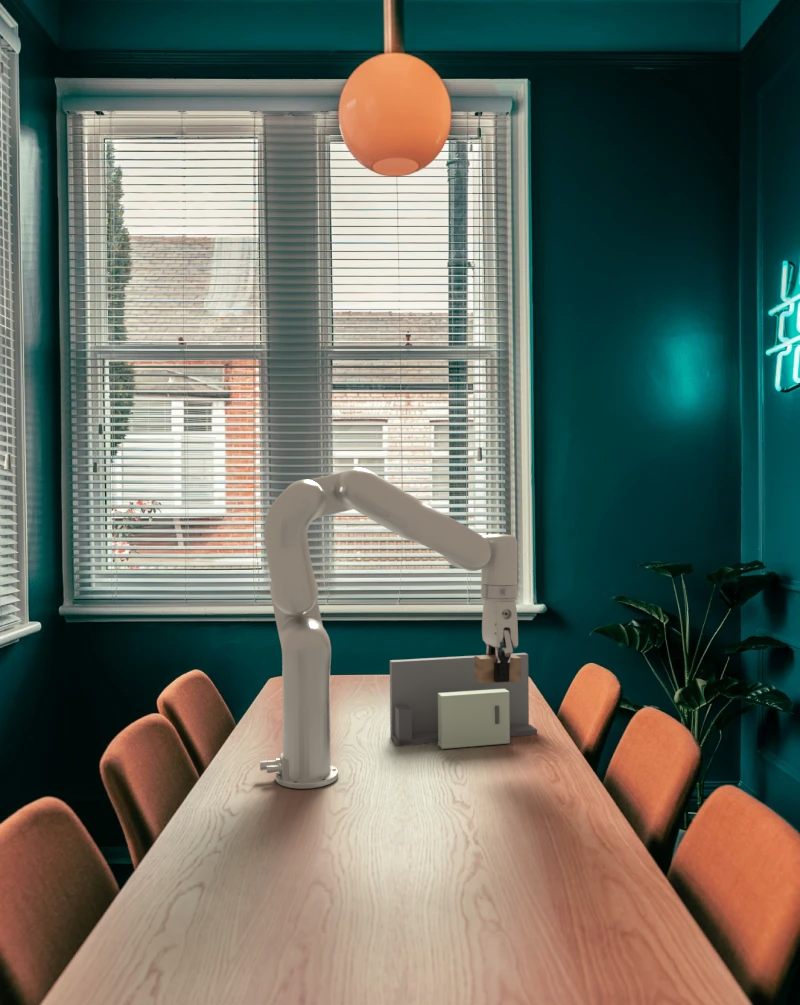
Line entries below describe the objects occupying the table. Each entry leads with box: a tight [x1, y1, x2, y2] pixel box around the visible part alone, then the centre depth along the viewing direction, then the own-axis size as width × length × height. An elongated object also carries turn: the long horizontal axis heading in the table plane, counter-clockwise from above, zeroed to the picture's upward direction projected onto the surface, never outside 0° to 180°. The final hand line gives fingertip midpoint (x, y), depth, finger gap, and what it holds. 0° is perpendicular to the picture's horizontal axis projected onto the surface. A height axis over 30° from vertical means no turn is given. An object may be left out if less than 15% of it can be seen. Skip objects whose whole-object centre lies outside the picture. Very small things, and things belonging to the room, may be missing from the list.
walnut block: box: [474, 653, 521, 683], centre depth 163 cm, size 9×4×5 cm, turn 103°
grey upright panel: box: [389, 652, 538, 747], centre depth 182 cm, size 34×7×18 cm, turn 103°
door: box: [437, 689, 511, 750], centre depth 174 cm, size 16×3×12 cm, turn 103°
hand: (497, 678), depth 163 cm, fingers closed on walnut block, 4 cm apart
